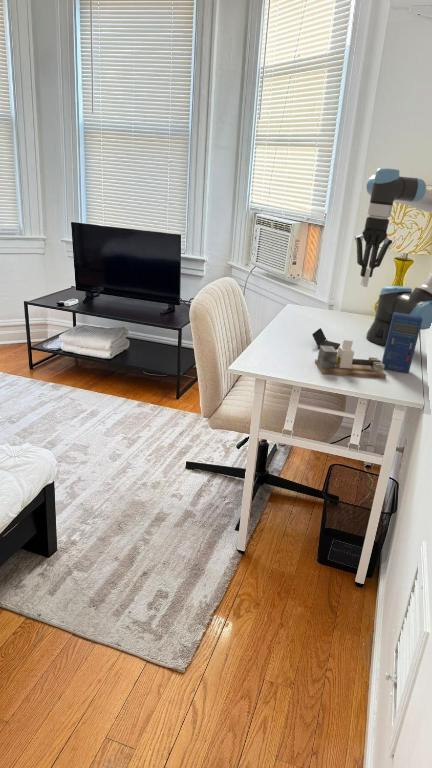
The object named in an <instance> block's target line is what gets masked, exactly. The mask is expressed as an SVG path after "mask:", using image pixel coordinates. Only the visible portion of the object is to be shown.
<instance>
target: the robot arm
mask: <svg viewBox="0 0 432 768" xmlns="http://www.w3.org/2000/svg"><path fill="white" fill-rule="evenodd" d="M366 192H367V194H368V195H370V200H369V206H368V210H367V215H368V216H367V217H366V220H365V224H364V229H363V230H362V233H361V234H360V235H357V236H354V241H355V243H356V258H357V259H356V261H357V263H356V264H358V265H359V266H360V267H361V269H360V270H361V271H360V276H361V282H360V286H362V288H363V287H364V288H367V287H368V285H369V280H370V278H372V277H373V274H374V273H373V272H374V270H375V269H376V268H379V267H380V266H381V264H382V262H383V259H384V257H385V255H386V253H387V251H388V249H389V247H390V246H391V245H392V243H393V240H391V239H390V238H389V237H388V227H389V223H390V219H389V218H390V217H391V215H392V209H393V205H394V202H395V203H398V204H401V205H405V206H406V207H411V208H414V209H416V210H419V211H423V212H426V213H429V214H432V190H430V189H428V188H427V183H426V182H425V181H424V180H423V179H421V178H418V177H409V176H400V169H395V168H385V167H380V168H377V170H376V172H375V174H373V175H371V177H369V179H368V180H367V182H366ZM363 241H364V242H365V246H364V247H365V248H364V252H363ZM381 244H382V245H381ZM380 245H381V246H380ZM380 247H381V248H380ZM379 248H380V250H379ZM426 277H427V278H425V280H424V282H423V283H422V285H421V284H420V285H419V286H415V288H414V289H412V287H409V286H400V285H385V286H383V287H381V288H380V289H381V291H380V293H379V295H378V296H379V297H378V302H377V307H376V312H375V316H374V319H373V321H372V324H371V325H370V327H369V329H368V331H367V333H366V337H365V338H366V340H367V341H369V342H372V343H373V344H378V345H381V346H384V347H385V346H386V342H387V338H388V333H389V329H390V325H391V321H392V316H393V312H397V313H403V314H410V315H416V316H422V323H421V327H420V330H421V331H424V330H428V329H431V328H430V326H431V323H432V270H431V271H430V273H429V274H428V276H426Z"/></svg>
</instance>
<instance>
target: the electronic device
mask: <svg viewBox="0 0 432 768" xmlns="http://www.w3.org/2000/svg"><path fill="white" fill-rule="evenodd" d="M421 323H422V316H416V315H410V314H403V313H397V312H393V316H392V321H391V325H390V329H389V333H388V338H387V342H386V346H385V345H384V351H383V355H382V359H381V362H382V363H383V364H384V365H385V366H384V370H389V371H395V372H400V373H406V374H409V373H410V369H411V366H412V365H411V364H412V362H413V357H414V354H415V350H416V346H417V342H418V338H419V335H420V330H421V329H420V327H421Z"/></svg>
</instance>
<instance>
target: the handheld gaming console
mask: <svg viewBox="0 0 432 768" xmlns="http://www.w3.org/2000/svg"><path fill="white" fill-rule="evenodd" d="M311 335H312V337H313V339H314V341H315V343H316V346H317V347H318V348H317V350H319V348H320V346H333V347H334V349H335V350H336V351H337V350H338V348H339V346H341V343H339V342H334V341H330V340H328V339H327V337H326V335H325V333H324V331H323V329H322V327H320V328H318V329H317V330H316V331H314V332H313V333H312V334H311Z"/></svg>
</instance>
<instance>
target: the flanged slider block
mask: <svg viewBox="0 0 432 768" xmlns="http://www.w3.org/2000/svg"><path fill="white" fill-rule="evenodd" d="M353 342H354V341H353V340H352V339H343V340H342V345H340V346H339V347H338V348H337V356H338V357H339V358H340V363H339V368H350V369H351V365H352V361H353V359H354V356H355V350H354V349H353V348H352V347H353Z"/></svg>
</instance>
